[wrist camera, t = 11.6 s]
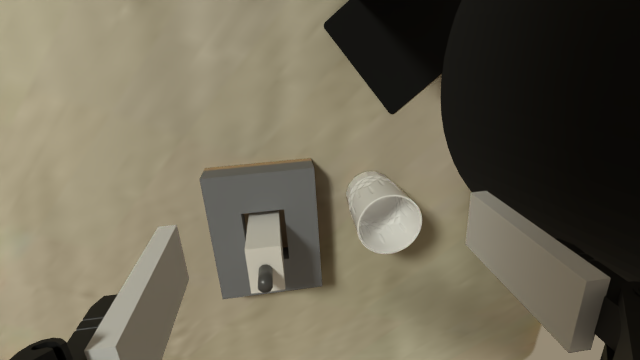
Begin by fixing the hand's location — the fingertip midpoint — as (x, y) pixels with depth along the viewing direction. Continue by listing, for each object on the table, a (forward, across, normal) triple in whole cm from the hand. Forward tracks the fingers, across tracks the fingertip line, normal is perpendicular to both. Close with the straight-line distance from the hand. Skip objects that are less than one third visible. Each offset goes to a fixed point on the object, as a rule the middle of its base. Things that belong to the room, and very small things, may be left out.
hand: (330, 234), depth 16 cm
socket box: (+33, -5, -16) cm, 37 cm away
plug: (+32, -5, -16) cm, 36 cm away
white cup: (+33, +10, -13) cm, 37 cm away
